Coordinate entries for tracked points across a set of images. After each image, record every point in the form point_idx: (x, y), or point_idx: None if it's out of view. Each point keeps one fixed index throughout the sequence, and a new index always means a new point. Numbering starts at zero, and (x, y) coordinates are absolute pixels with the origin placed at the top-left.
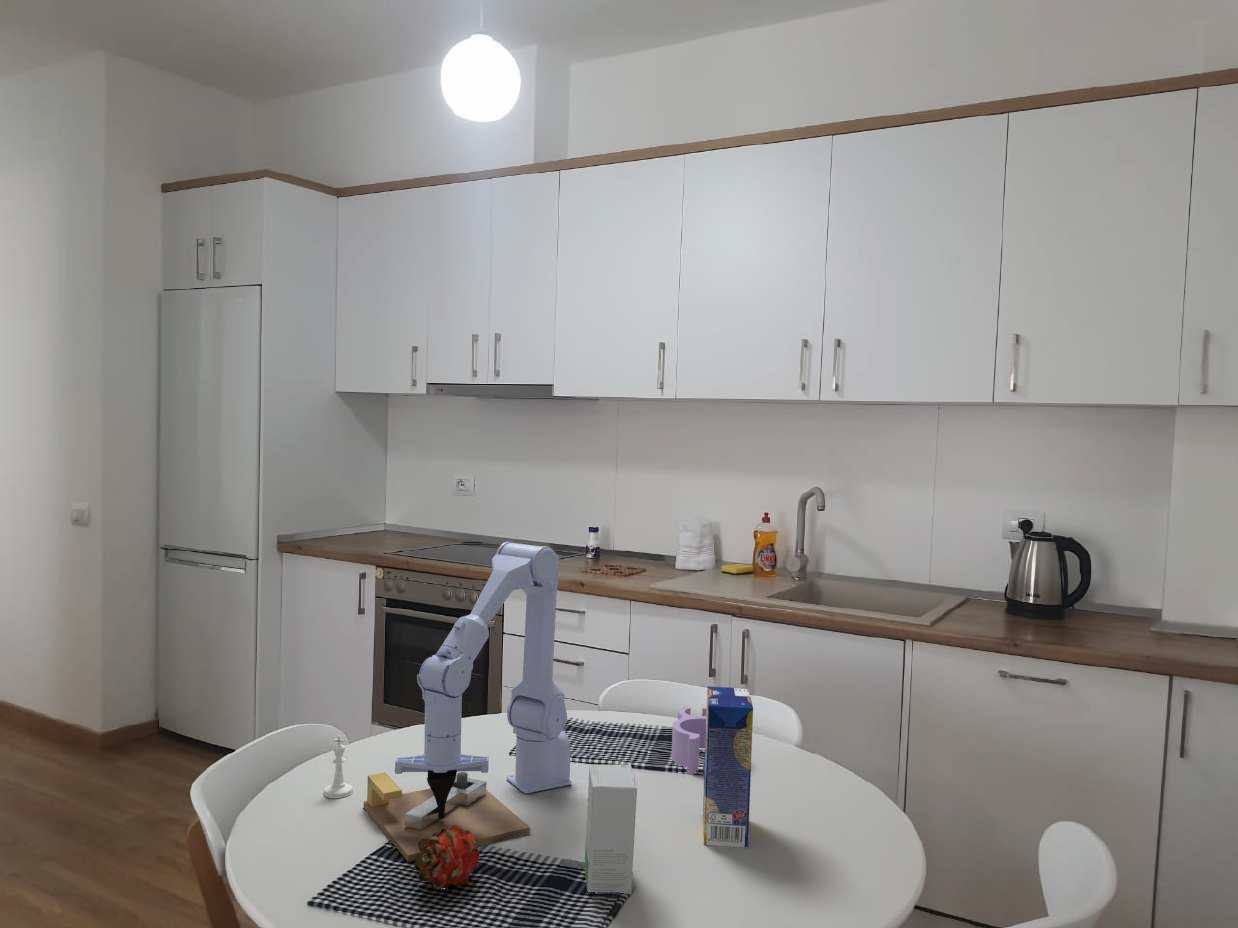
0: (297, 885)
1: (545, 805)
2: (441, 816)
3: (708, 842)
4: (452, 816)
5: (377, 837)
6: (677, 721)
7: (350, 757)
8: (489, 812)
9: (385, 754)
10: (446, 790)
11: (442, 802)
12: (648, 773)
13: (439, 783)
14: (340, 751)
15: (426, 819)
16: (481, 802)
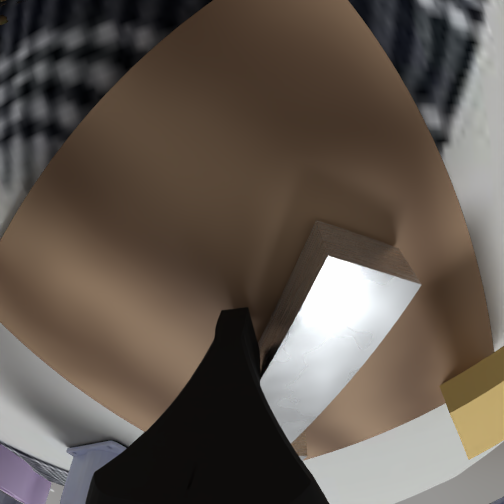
0: None
1: (49, 401)
2: (230, 313)
3: None
4: None
5: (478, 190)
6: (18, 497)
7: (463, 462)
8: (111, 375)
9: (414, 481)
10: (165, 432)
11: (213, 367)
12: (16, 445)
13: (200, 488)
14: None
15: (301, 280)
16: None
